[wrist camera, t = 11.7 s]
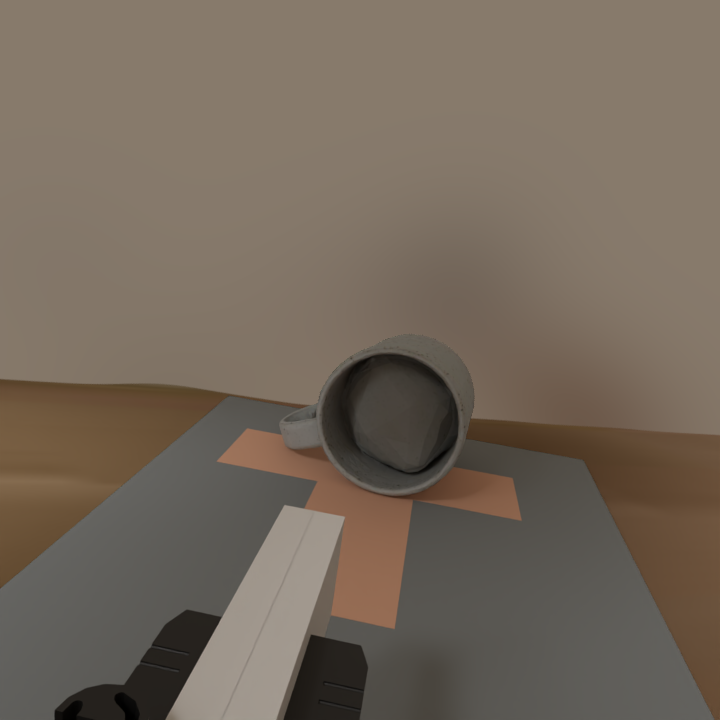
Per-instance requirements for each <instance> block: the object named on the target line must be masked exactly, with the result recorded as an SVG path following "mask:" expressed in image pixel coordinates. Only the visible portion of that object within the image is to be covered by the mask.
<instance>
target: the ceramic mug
mask: <svg viewBox="0 0 720 720" xmlns="http://www.w3.org/2000/svg"><path fill="white" fill-rule="evenodd" d="M473 408H474V388H473V383H472V379H471V376H470V373H469V371H468V369H467V367H466V366H465V364H464V363H463V361H462V360H461V358H460V357H459V356H458V355H457V354H456V353H455V352H454V351H453V350H452V349H451V348H449V347H448V346H447V345H445V344H444V343H442V342H440V341H438V340H436V339H433V338H430V337H427V336H423V335H414V334H405V335H399V336H395V337H392V338H388V339H385V340H383V341H382V342H380V343H378V344H376V345H374V346H372V347H370V348H367V349H364V350H362V351H360V352H358V353H356V354H354V355H352V356H350V357H349V358H348V359H347V360H346V361H344V362H343V363H342V364H340V365H339V366H338V367H337V368H336V369H335V370H334V371H333V372H332V374H331V375H330V376H329V378H328V380H327V381H326V383H325V385H324V386H323V388H322V390H321V393H320V396H319V400H318V403H317V404H314V405H310V406H307V407H305V408H302V409H300V410H297V411H295V412H293V413H291V414H289V415H287V416H286V417H284V418H283V419H282V420H281V421H280V423H279V426H280V430H281V433H282V437H283V440H284V443H285V446H286V447H288V448H290V449H295V450H301V449H308V448H317V447H322V448H323V450H324V452H325V454H326V456H327V457H328V459H329V461H330V462H331V463H332V465H333V466H334V467H335V468H336V469H337V470H338V471H339V472H340V473H341V474H342V475H343V476H344V477H345V478H346V479H347V480H349V481H351V482H352V483H354V484H355V485H357V486H359V487H361V488H363V489H366V490H368V491H370V492H374V493H378V494H382V495H388V496H403V495H410V494H415V493H418V492H421V491H424V490H426V489H427V488H429V487H431V486H433V485H435V484H436V483H437V482H439V481H440V480H441V479H442V478H443V477H444V476H446V475H447V474H448V473H449V471H450V470H451V469H452V468H453V467H454V465H455V463H456V461H457V460H458V458H459V456H460V454H461V451H462V449H463V446H464V443H465V439H466V435H467V431H468V427H469V423H470V419H471V416H472V412H473Z"/></svg>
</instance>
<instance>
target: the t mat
mask: <svg viewBox="0 0 720 720" xmlns="http://www.w3.org/2000/svg"><path fill="white" fill-rule="evenodd" d="M297 410H300V408H294V407H289V406H283V405H278V404H272V403H267V402H261V401H256V400H250V399H245V398H239V397H234V396H228V397H227V398H226V399H224V400H223V401H222V402H221V403H220V404H218V405H217V406H216V407H215V408H214V409H212V410H211V411H210V412H209V413H208V414H207V415H205V416H204V417H203V418H202V419H201V420H199V421H198V422H197V423H196V424H195V425H194V426H192V427H191V428H190V429H189V430H188V431H186V432H185V433H184V434H183V435H182V436H180V437H179V438H178V439H177V440H176V441H175V442H173V443H172V444H171V445H170V446H169V447H167V448H166V449H165V450H164V451H163V452H162V453H160V454H159V455H158V456H157V457H156V458H154V459H153V460H152V461H151V462H150V463H149V464H147V465H146V466H145V467H144V468H143V469H141V470H140V471H139V472H138V473H137V474H135V475H134V476H133V477H132V478H131V479H130V480H128V481H127V482H126V483H125V484H124V485H122V486H121V487H120V488H119V489H118V490H117V491H115V492H114V493H113V494H112V495H111V496H109V497H108V498H107V499H106V500H105V501H103V502H102V503H101V504H100V505H99V506H98V507H96V508H95V509H94V510H93V511H92V512H90V513H89V514H88V515H87V516H86V517H85V518H83V519H82V520H81V521H80V522H79V523H77V524H76V525H75V526H74V527H73V528H72V529H70V530H69V531H68V532H67V533H66V534H64V535H63V536H62V537H61V538H60V539H58V540H57V541H56V542H55V543H54V544H53V545H51V546H50V547H49V548H48V549H47V550H45V551H44V552H43V553H42V554H41V555H40V556H38V557H37V558H36V559H35V560H34V561H32V562H31V563H30V564H29V565H28V566H26V567H25V568H24V569H23V570H22V571H21V572H19V573H18V574H17V575H16V576H15V577H13V578H12V579H11V580H10V581H9V582H8V583H6V584H5V585H4V586H3V587H2V588H0V720H54V710H55V709H56V708H57V707H58V706H59V705H60V704H61V703H63V702H64V701H65V700H66V699H67V698H68V697H69V696H71V695H73V694H75V693H77V692H79V691H81V690H83V689H85V688H88V687H93V686H97V685H102V684H117V685H124V684H125V682H126V681H127V680H128V678H129V677H130V675H131V674H132V672H133V671H134V669H135V668H136V666H137V665H139V664H140V660H141V659H142V658H143V656H144V655H145V653H146V652H147V650H148V649H149V648H151V645H152V643H153V641H154V640H155V638H156V637H157V636H158V634H159V633H160V631H161V630H162V628H163V627H164V625H165V624H166V623H168V622H169V621H171V620H172V619H173V618H175V617H176V616H178V615H179V614H181V613H182V612H184V611H185V610H186V609H188V610H192V611H197V612H202V613H206V614H211V615H215V616H220V617H223V615H224V613H225V611H226V610H227V608H228V606H229V604H230V602H231V601H232V599H233V597H234V595H235V593H236V592H237V590H238V588H239V586H240V584H241V583H242V581H243V579H244V577H245V575H246V574H247V572H248V570H249V568H250V566H251V564H252V563H253V561H254V559H255V557H256V555H257V554H258V552H259V550H260V548H261V546H262V545H263V543H264V541H265V539H266V537H267V536H268V534H269V532H270V530H271V528H272V527H273V525H274V523H275V521H276V519H277V518H278V516H279V514H280V512H281V510H282V509H283V507H284V505H287V506H292V507H298V508H303V509H308V510H313V511H318V512H323V513H328V514H333V515H338V516H344V517H345V521H344V528H343V535H342V542H341V549H340V556H339V563H338V570H337V577H336V584H335V591H334V598H333V605H332V612H331V616H330V620H329V623H328V626H327V630H326V633H325V638H330V639H334V640H339V641H343V642H348V643H353V644H357V645H361V646H362V649H363V652H364V655H365V658H366V661H367V665H368V672H367V678H366V684H365V690H364V696H363V702H362V708H361V714H360V720H714V718H713V716H712V714H711V712H710V710H709V708H708V706H707V704H706V702H705V700H704V698H703V696H702V694H701V692H700V690H699V688H698V686H697V684H696V682H695V680H694V678H693V676H692V674H691V672H690V670H689V668H688V667H687V665H686V663H685V661H684V659H683V657H682V655H681V653H680V651H679V649H678V647H677V645H676V643H675V641H674V639H673V637H672V635H671V633H670V631H669V629H668V627H667V625H666V623H665V621H664V619H663V617H662V615H661V613H660V611H659V609H658V607H657V605H656V603H655V601H654V599H653V597H652V595H651V593H650V591H649V589H648V587H647V585H646V583H645V581H644V579H643V577H642V575H641V573H640V571H639V569H638V567H637V565H636V563H635V561H634V559H633V557H632V555H631V553H630V551H629V550H628V548H627V546H626V544H625V542H624V540H623V538H622V536H621V534H620V532H619V530H618V528H617V526H616V524H615V522H614V520H613V518H612V516H611V514H610V512H609V510H608V508H607V506H606V504H605V502H604V500H603V498H602V496H601V494H600V492H599V490H598V488H597V486H596V484H595V482H594V480H593V478H592V476H591V474H590V472H589V470H588V468H587V466H586V464H585V462H584V460H581V459H575V458H570V457H564V456H559V455H553V454H548V453H542V452H537V451H531V450H526V449H520V448H515V447H509V446H504V445H498V444H492V443H487V442H481V441H476V440H470V439H465V443H464V446H463V449H462V451H461V454H460V456H459V458H458V460H457V461H456V463H455V465H454V467H453V468H452V469H451V470H450V471H449V473H448V474H447V475H446V476H444V477H443V478H442V479H441V480H440V481H439V482H437V483H436V484H435V485H433V486H431V487H429V488H427V489H426V490H424V491H421V492H418V493H415V494H410V495H403V496H388V495H382V494H378V493H374V492H370V491H368V490H366V489H363V488H361V487H359V486H357V485H355V484H354V483H352V482H351V481H349V480H347V479H346V478H345V477H344V476H343V475H342V474H341V473H340V472H339V471H338V470H337V469H336V468H335V467H334V466H333V465H332V463H331V462H330V461H329V459H328V457H327V456H326V454H325V452H324V450H323V448H322V447H317V448H308V449H301V450H295V449H290V448H288V447H286V446H285V443H284V440H283V437H282V433H281V430H280V426H279V423H280V421H281V420H282V419H283V418H284V417H286V416H287V415H289V414H291V413H293V412H295V411H297Z"/></svg>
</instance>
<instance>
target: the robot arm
mask: <svg viewBox="0 0 720 720" xmlns="http://www.w3.org/2000/svg"><path fill="white" fill-rule="evenodd" d="M344 521H345V517H344V516H338V515H333V514H328V513H323V512H318V511H313V510H308V509H303V508H298V507H292V506H287V505H284V507H283V509H282V510H281V512H280V514H279V516H278V518H277V519H276V521H275V523H274V525H273V527H272V528H271V530H270V532H269V534H268V536H267V537H266V539H265V541H264V543H263V545H262V546H261V548H260V550H259V552H258V554H257V555H256V557H255V559H254V561H253V563H252V564H251V566H250V568H249V570H248V572H247V574H246V575H245V577H244V579H243V581H242V583H241V584H240V586H239V588H238V590H237V592H236V593H235V595H234V597H233V599H232V601H231V602H230V604H229V606H228V608H227V610H226V611H225V613H224V615H223V617H220V616H215V615H211V614H206V613H202V612H197V611H192V610H188V609H186V610H185V611H184V612H182V613H181V614H179V615H178V616H176V617H175V618H173V619H172V620H171V621H169V622H168V623H166V624H165V625H164V627H163V628H162V630H161V631H160V633H159V634H158V636H157V637H156V638H155V640H154V641H153V643H152V645H151V648H149V649H148V650H147V652H146V653H145V655H144V656H143V658H142V659H141V660H140V664H139V665H137V666H136V668H135V669H134V671H133V672H132V674H131V675H130V677H129V678H128V680H127V681H126V682H125V684H124V685H117V684H102V685H97V686H93V687H88V688H85V689H83V690H81V691H79V692H77V693H75V694H73V695H71V696H69V697H68V698H67V699H66V700H65V701H64V702H63V703H61V704H60V705H59V706H58V707H57V708H56V709H55V710H54V720H360V714H361V708H362V702H363V696H364V690H365V684H366V678H367V672H368V665H367V661H366V658H365V655H364V652H363V649H362V646H361V645H357V644H353V643H348V642H343V641H339V640H334V639H330V638H325V633H326V630H327V626H328V623H329V620H330V616H331V612H332V605H333V598H334V591H335V584H336V577H337V570H338V563H339V556H340V549H341V542H342V535H343V528H344Z"/></svg>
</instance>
